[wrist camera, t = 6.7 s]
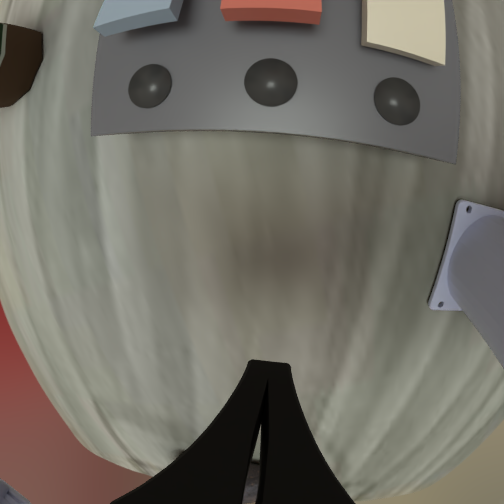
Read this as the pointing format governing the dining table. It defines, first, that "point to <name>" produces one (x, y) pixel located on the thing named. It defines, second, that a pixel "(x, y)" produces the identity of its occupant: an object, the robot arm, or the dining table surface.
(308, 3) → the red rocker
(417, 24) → the block
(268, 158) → the dining table surface
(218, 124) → the rocker switch panel
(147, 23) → the slate rocker
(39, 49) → the beer bottle
